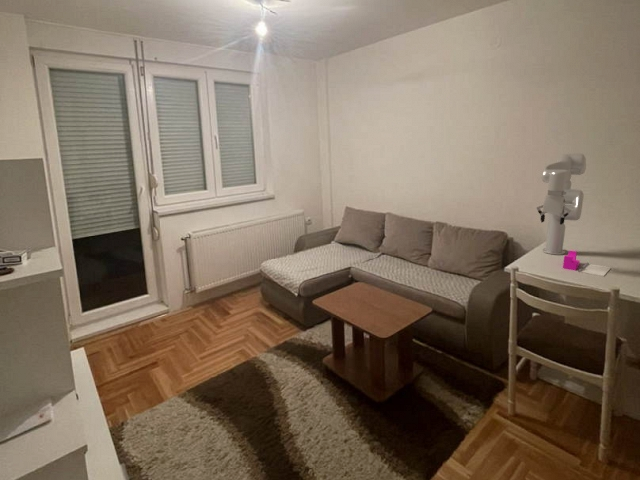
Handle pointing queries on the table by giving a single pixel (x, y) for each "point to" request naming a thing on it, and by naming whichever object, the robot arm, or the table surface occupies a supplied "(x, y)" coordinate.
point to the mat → (594, 269)
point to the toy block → (571, 261)
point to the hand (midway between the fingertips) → (551, 223)
